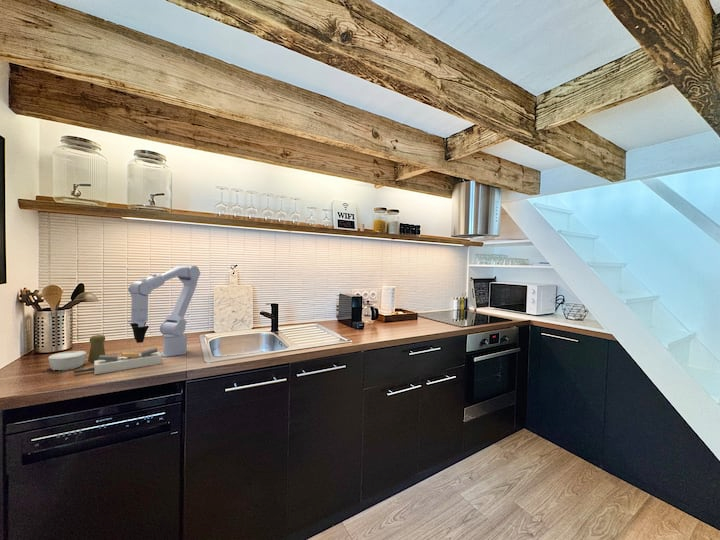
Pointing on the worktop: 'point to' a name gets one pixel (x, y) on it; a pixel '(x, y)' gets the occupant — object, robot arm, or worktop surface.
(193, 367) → the worktop surface
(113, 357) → the block
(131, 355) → the rocker middle
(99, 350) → the olive-brown rounded piece
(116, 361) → the rocker switch panel
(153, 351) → the block
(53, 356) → the ramekin
